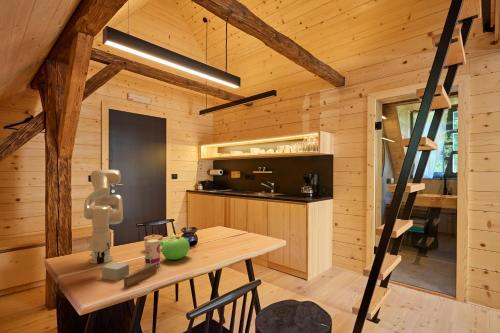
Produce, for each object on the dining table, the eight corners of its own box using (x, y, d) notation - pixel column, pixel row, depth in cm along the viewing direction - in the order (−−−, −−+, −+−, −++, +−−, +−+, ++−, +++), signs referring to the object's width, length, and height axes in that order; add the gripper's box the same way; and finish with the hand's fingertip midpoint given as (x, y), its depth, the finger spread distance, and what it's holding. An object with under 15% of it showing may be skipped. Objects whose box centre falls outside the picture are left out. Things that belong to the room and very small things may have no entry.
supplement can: (161, 263, 161) (161, 238, 161) (157, 268, 153) (157, 242, 153) (148, 263, 161) (148, 238, 161) (143, 268, 153) (143, 242, 153)
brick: (102, 278, 140) (102, 266, 140) (114, 272, 147) (114, 261, 147) (116, 281, 136) (117, 269, 136) (128, 275, 144) (128, 264, 144)
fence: (123, 286, 129) (124, 276, 129) (152, 272, 148) (152, 263, 148) (127, 287, 129) (128, 277, 129) (156, 272, 147) (156, 263, 147)
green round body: (176, 265, 159) (176, 240, 159) (154, 260, 166) (154, 237, 166) (194, 256, 175) (194, 233, 175) (174, 252, 182) (174, 231, 182)
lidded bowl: (165, 247, 193) (165, 232, 193) (157, 253, 181) (158, 236, 181) (148, 247, 195) (149, 231, 195) (140, 252, 182) (140, 236, 182)
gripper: (84, 230, 145) (84, 264, 144) (105, 232, 140) (104, 267, 139) (96, 227, 152) (96, 260, 151) (116, 229, 147) (116, 263, 146)
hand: (100, 263), depth 145 cm, fingers closed
